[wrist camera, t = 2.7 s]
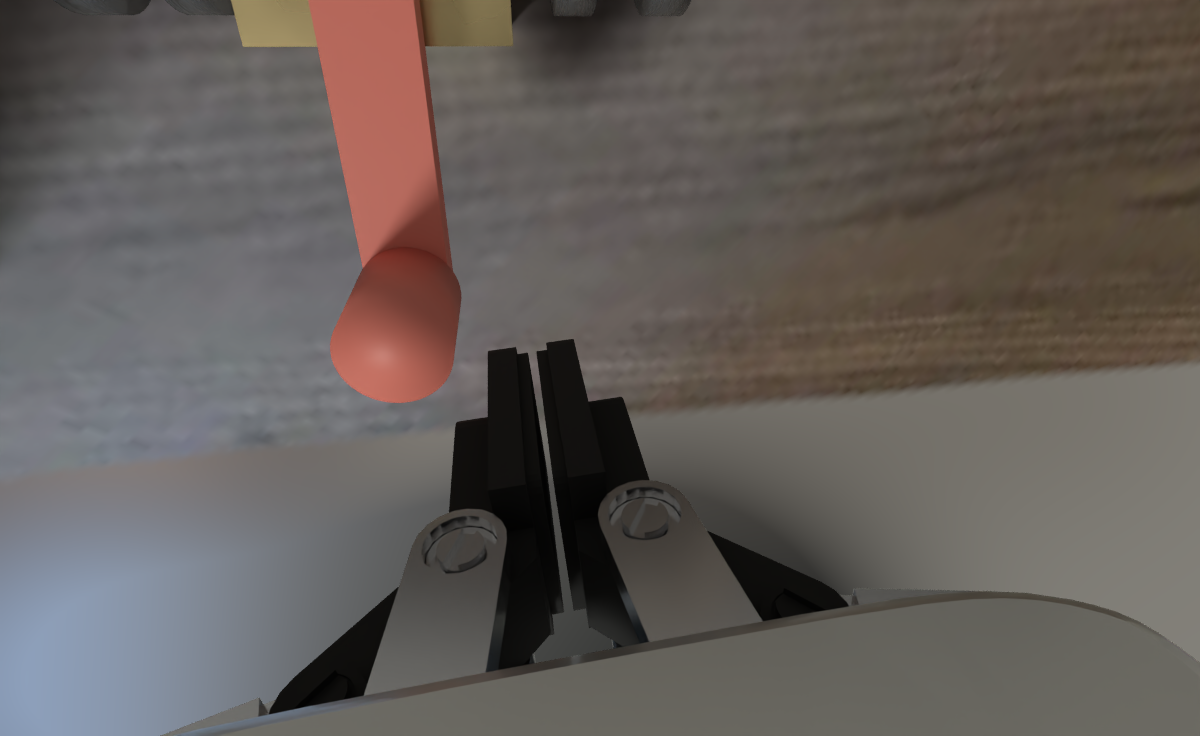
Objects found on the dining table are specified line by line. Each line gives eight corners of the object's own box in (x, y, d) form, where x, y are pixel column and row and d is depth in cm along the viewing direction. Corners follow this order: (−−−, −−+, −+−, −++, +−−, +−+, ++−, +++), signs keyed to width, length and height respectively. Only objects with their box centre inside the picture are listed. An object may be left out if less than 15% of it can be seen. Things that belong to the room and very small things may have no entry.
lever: (251, -226, 14) (141, -311, 10) (421, -218, 14) (386, -297, 10) (366, 319, 21) (331, 407, 17) (477, 313, 21) (471, 398, 17)
